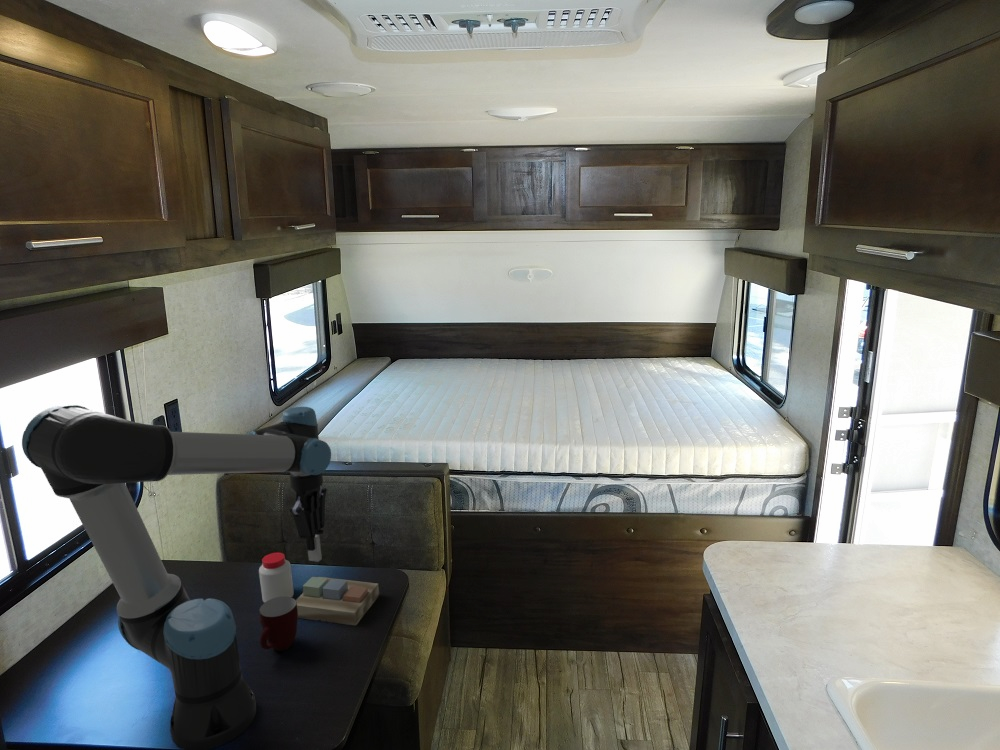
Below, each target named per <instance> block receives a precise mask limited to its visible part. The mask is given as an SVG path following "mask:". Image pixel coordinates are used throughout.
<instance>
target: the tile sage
mask: <svg viewBox="0 0 1000 750" xmlns="http://www.w3.org/2000/svg"><path fill="white" fill-rule="evenodd" d="M319 577H320V576H317V577H315V576H311V577H310V578H309V579H308V580H307V581H306V582H305V583H304V584H303V585H302V593H304V596H307V597H315V598H321V597H322V595H323V587H324V586H325V585H326V584H327V583H328V579H327V578H328V577H325V578H319Z"/></svg>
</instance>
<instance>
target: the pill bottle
mask: <svg viewBox="0 0 1000 750" xmlns="http://www.w3.org/2000/svg"><path fill="white" fill-rule="evenodd" d="M261 561H262V562H261V563H262V564H261V565H260V566H259V569H258V577H259V582H260V591H261V597H262V598H261V599H262V602H263V604H264V603H265V602H267V601H269V600H271V599H273V598H277V597H291V598H293V596H294V594H295V591H294V583H293V576H292V567H291V563H290V561H289V560H287V559H286V556H285V554H284V553H282V552H272V553H269V554H267V555H264V557H263V558H262V559H261Z"/></svg>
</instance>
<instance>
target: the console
mask: <svg viewBox="0 0 1000 750" xmlns="http://www.w3.org/2000/svg"><path fill="white" fill-rule="evenodd" d="M318 577H319V578H327V579H328V582H329V581H330V580H331V579H336V580H345V581H347V585H348V590H349V588H350V587H351V586H355V587H364V588H368V594H367V596H366V597H365V598H364V599H363V601H362V602H361V603H355V602H347V601H344V599H343V598H342V599H341V600H340V601H339V600H331V599H324V597H323V595H322V597H321V598H315V597H307V596H304V593H303V592H302V594H300V595H299V596H298V597H297V598H296V599H295V600H296V603H297V610H298V618H299V619H306V620H312V621H318V620H321V621H320V622H326V621H327V622H328V623H333V622H334V623H335V624H342V625H349V626H357V625H358V624H359V623H360V621H361V620H362V619H363V617H364V616H365V614H367V612H368V611H369V609H370V608H371V607H372V605H373V604H374V603H375V602H376V600H377V599H378V598H379V597H380V589H379V583H374V582H368V581H358V580H350V579H342V578H341V579H340V578H331V577H325V576H324V577H323V576H318ZM298 618H297V619H298Z"/></svg>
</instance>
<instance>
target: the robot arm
mask: <svg viewBox="0 0 1000 750" xmlns="http://www.w3.org/2000/svg"><path fill="white" fill-rule="evenodd" d="M21 438H22V439H21V447H22V451H23V454H24V455H25V457H26V458H27V459H28V461H30V463H31V464H32V465H34V466H36V467H37V468H40V470H42V472H43V474H44V477H45V478H46V480H47V482H48V484H49V486H50V487H51V489H52V491H53V494H54V495H55V496H57V497H60V498H65V499H69V501H70V503H71V505H72V507H73V509H74V511H75V513H76V515H77V516H78V518H79V520H80V523H81V524H82V526H83V528H84V530H85V532H86V534H87V535H88V537H89V539H90V541H91V543H92V546H93V548H94V549H95V551H96V553H97V555H98V556H99V558H100V561H101V563H102V565H103V567H104V568H105V570H106V572H107V575H108V576H109V578H110V580H111V582H112V585H113V586H114V587H115V589H116V591H117V594H118V595H119V600H118V601H117V604H116V613H117V614H118V616H117V617H118V618H117V627H118V630H119V633H120V634H121V636H122V638H123V640H125V642H126V643H127V644H128V645H129V646H130V647H132V648H134V649H135V650H137V651H140V652H142V653H143V654H145V655H146V656H148V657H150V658H151V659H153V660H154V661H156V662H158V663H159V664H161V665H163V666H164V667H165V668H167V669H169V671H170V673H171V677H172V678H171V679H172V684H173V689H174V695H175V698H174V703H173V707H172V713H171V717H170V721H169V729H170V735H171V736H170V737H171V739H172V742H173V743H175V744H176V745H177V746H176V745H175V744H174V745H175V746H176V747H177V748H179V747H180V749H182V750H212V749H215V748H219V747H221V746H223V745H226V744H228V743H229V742H231V741H233V740H235V739H236V738H237V737H238V736H240V735H241V734H242V733H243V732H244V731H246V730H247V729H248V728H249V726H250V725H251V723H253V720H254V719H255V717H256V713H257V703H256V697H255V694H254V692H253V690H252V689H251V687H250V686H249V683H247V681H246V678H245V677H244V675H243V673H242V668H241V660H240V653H239V647H238V646H239V645H238V640H237V639H238V637H237V625H236V622H235V618H234V616H233V611H232V610H231V608H230V606H228V605H227V604H226V603H225V602H224V601H222V600H219V599H217V598H210V597H209V598H206V599H204V598H202V597H201V598H193V599H190V597H189V595H188V593H187V591H186V589H185V587H184V585H183V583H182V581H181V578H180V576H178V575H176V574H173V573H168V572H167V570H166V567H165V566H164V563H163V561H162V559H161V557H160V555H159V552H158V550H157V547H156V546H155V543H154V542H153V540H152V538H151V536H150V533H149V531H148V529H147V528H146V525H145V523H144V521H143V518H142V517H141V514H140V512H139V510H138V508H137V506H136V504H135V501H134V499H133V497H132V495H131V493H130V491H129V489H128V486H127V484H131V483H148V482H160V481H163V480H164V479H165V478H166V477H168V476H180V475H181V476H182V475H184V476H185V475H186V476H187V475H215V474H216V475H218V474H219V475H220V474H223V475H224V474H251V473H252V474H256V473H258V474H259V473H290V474H289V482H290V488H291V489H292V490H293V491H294V492H295V498H294V499H295V500H294V501H295V504H294V506H290V508H289V512H290V513H291V515H292V516H293V520H294V524H295V527H296V531H297V534H298V537H299V540H301V539H302V540H305V542H306V549H307V554H308V561H310V562H311V561H312V562H317V563H319V562H320V561H321V560H322V559H323V558H322V550H321V549H322V548H321V547H322V546H321V538H320V537H321V535H323V534H324V530H322V529H324V527H325V521H326V520H325V518H326V516H325V515H326V514H325V513H326V496H327V495H326V494H327V491H328V489H327V488H324V487H321V486H322V485H323V483H324V479H323V477H324V476H323V472H325V471H326V470H327V469H328V467H329V466H330V463H331V459H332V450H331V447H330V445H329V444H328V443H327V442H326V441H325V440H322V439H320V438H319V424H318V419H317V414H316V411H315V410H314V408H312V407H309V406H295V407H291V408H287V409H286V410H284V411H283V413H282V421H281V422H279V423H276V424H272V425H269V426H266V427H263V428H259V429H256V430H251V431H250V432H247V433H245V434H243V433H242V434H241V433H221V432H220V433H214V432H213V433H212V432H192V431H191V432H190V431H189V432H188V431H171V430H170V428H168V426H165V425H162V424H161V425H160V424H146V423H140V422H135V421H132V420H128V419H124V418H121V417H119V416H115V415H112V414H108V413H103V412H99V411H94V410H92V409H89V408H87V407H84V406H81V405H77V404H75V405H74V404H73V405H70V404H68V405H67V404H62V405H55V406H52V407H49V408H47V409H44V410H42V411H41V412H39V413H37V415H35V416H34V417H33V418H32V419H31V420H30V421H29V422H28V424H27V425H26V427H25V429H24V431H23V434H22V437H21Z"/></svg>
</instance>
